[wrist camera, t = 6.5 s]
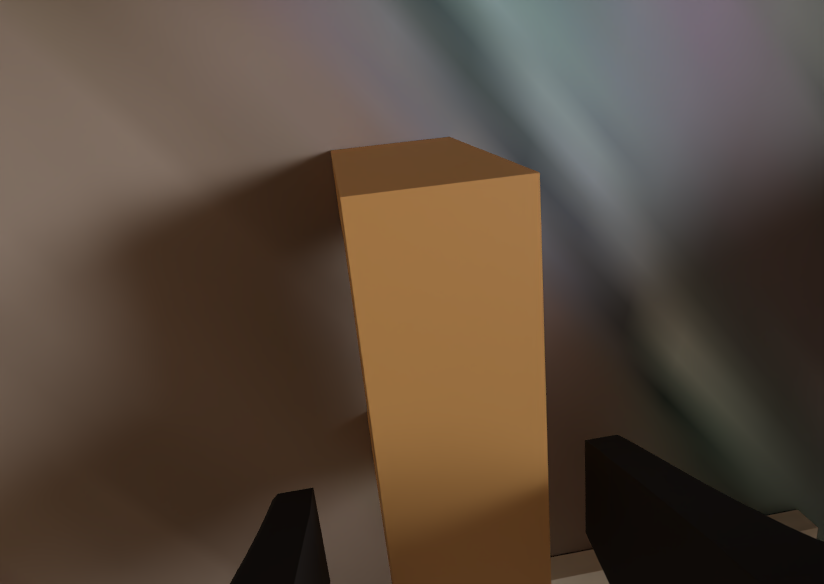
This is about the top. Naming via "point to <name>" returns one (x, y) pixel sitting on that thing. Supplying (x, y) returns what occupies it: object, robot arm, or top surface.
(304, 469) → the top surface
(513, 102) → the top surface
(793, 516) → the stand
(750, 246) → the top surface
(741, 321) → the top surface
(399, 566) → the block
